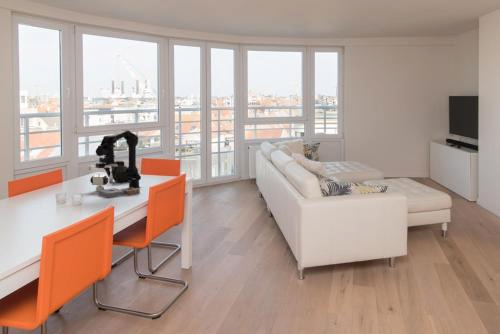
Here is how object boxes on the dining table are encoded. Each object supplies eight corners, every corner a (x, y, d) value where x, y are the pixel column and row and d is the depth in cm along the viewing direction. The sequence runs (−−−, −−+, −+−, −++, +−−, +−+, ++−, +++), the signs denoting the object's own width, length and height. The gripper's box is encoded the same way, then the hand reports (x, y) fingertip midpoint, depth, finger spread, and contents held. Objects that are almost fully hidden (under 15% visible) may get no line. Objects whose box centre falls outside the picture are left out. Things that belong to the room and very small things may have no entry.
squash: (132, 176, 336) (130, 160, 344) (112, 178, 332) (110, 162, 339) (132, 185, 348) (130, 170, 355) (113, 187, 343) (111, 171, 351)
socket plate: (114, 191, 307) (114, 187, 306) (124, 195, 297) (124, 190, 297) (98, 194, 298) (98, 190, 298) (108, 197, 289) (108, 193, 288)
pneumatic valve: (106, 191, 307) (105, 175, 305) (90, 191, 309) (89, 174, 307) (109, 190, 313) (108, 173, 311) (94, 189, 314) (93, 173, 312)
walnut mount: (132, 191, 309) (132, 187, 308) (139, 193, 302) (139, 189, 301) (120, 193, 303) (120, 189, 302) (128, 195, 296) (127, 191, 295)
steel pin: (111, 182, 298) (111, 170, 297) (113, 183, 296) (113, 171, 295) (108, 183, 296) (108, 171, 295) (110, 183, 295) (109, 171, 293)
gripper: (116, 152, 305) (117, 173, 308) (91, 154, 292) (92, 176, 295) (124, 153, 298) (125, 175, 300) (98, 156, 285) (99, 179, 287)
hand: (110, 176), depth 296 cm, fingers closed on steel pin, 2 cm apart
